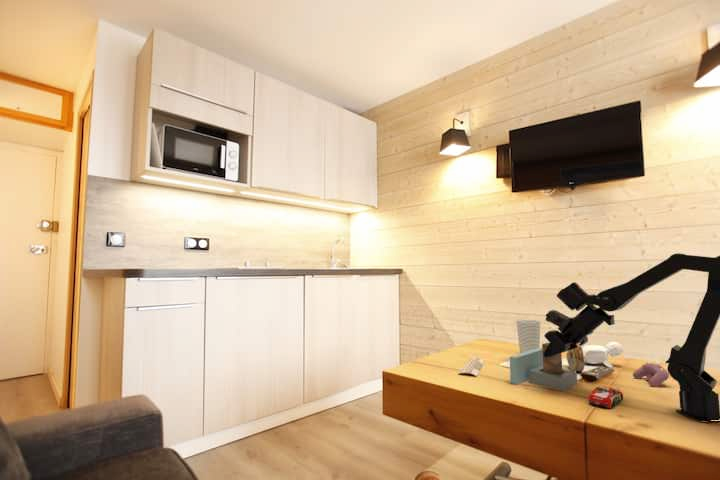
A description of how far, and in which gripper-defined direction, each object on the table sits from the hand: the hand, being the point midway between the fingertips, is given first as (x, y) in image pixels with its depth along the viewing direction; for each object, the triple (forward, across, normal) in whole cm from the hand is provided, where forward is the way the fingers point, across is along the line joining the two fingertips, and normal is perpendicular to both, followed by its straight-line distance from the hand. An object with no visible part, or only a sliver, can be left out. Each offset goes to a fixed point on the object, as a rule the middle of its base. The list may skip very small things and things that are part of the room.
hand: (547, 354), depth 111 cm
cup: (+17, -20, -5) cm, 27 cm away
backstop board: (+10, 0, +2) cm, 10 cm away
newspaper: (+24, +3, -11) cm, 26 cm away
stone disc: (+6, -21, +6) cm, 23 cm away
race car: (-6, +5, +18) cm, 20 cm away
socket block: (+5, 0, +7) cm, 9 cm away
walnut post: (+4, 0, +6) cm, 7 cm away
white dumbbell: (+4, -37, +8) cm, 38 cm away
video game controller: (-8, -25, +21) cm, 33 cm away
